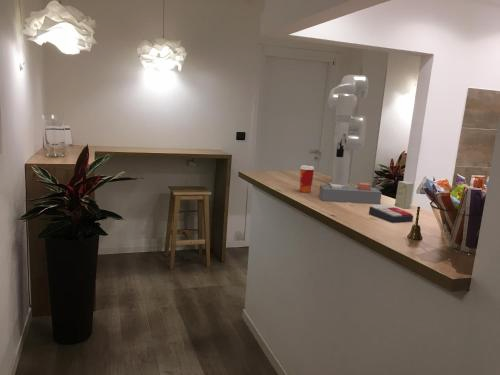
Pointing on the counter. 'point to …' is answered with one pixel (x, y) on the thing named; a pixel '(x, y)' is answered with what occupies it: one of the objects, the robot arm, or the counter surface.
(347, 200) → the plug block
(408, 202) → the skincare box
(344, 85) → the robot arm
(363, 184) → the red plug
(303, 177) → the paper cup
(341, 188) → the grey plug
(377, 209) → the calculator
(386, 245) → the counter surface
